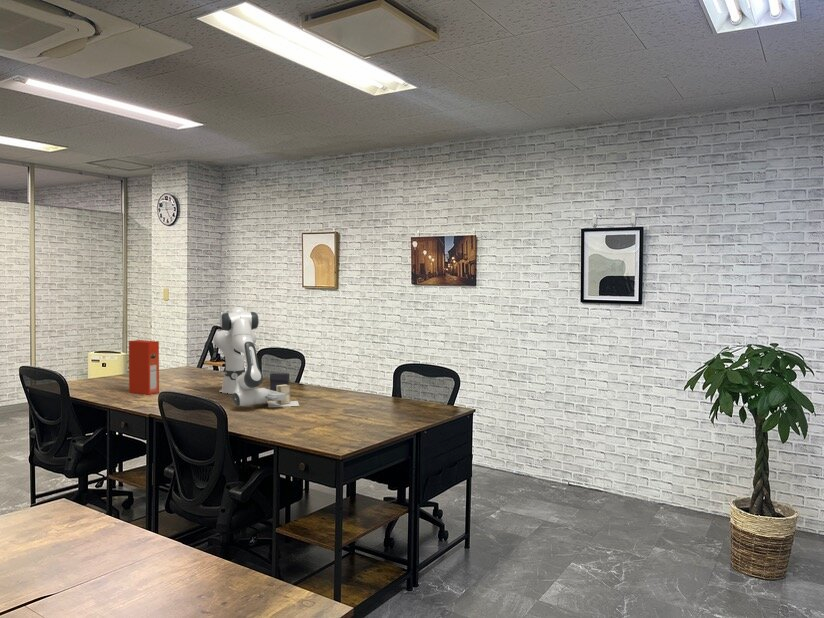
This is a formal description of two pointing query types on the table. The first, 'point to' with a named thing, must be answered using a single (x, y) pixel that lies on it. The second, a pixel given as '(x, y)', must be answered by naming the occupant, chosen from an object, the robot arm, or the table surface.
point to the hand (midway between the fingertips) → (283, 393)
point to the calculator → (278, 380)
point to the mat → (274, 404)
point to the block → (284, 389)
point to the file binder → (144, 367)
